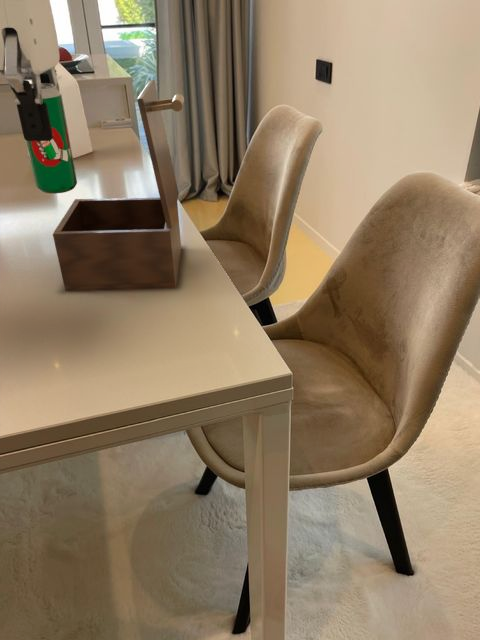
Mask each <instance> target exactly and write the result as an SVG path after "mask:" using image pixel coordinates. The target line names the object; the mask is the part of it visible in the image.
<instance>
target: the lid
mask: <svg viewBox="0 0 480 640" xmlns="http://www.w3.org/2000/svg"><path fill="white" fill-rule="evenodd" d="M136 100H137V105H138V110H139V113H140V118H141V121H142V122H141V123H142V127H143V130H144V135H145V139H146V143H147V149H148V152H149V156H150V160H151V165H152V169H153V173H154V177H155V178H154V179H155V181H156V186H157V190H158V195H159V198H160V200H161V204H162V208H163V212H164V217H165V221H166V225H167V229H168V228H172V226H173V221H174V216H175V211H176V206H177V204H178V201H179V195H180V194H179V193H180V192H179V188H178V184H177V179H176V174H175V169H174V165H173V161H172V157H171V151H170V147H169V141H168V137H167V133H166V127H165V123H164V122H165V121H164V118H163V114H162V111H168V110H173V111H174V112H176V113H177V112H180V111H181V110H182V109H183V106H184V102H185V97H184V95H183V94H182V93H181V94H180V93H177V94H174V96H173V97H170V98H165V99H159V94H158V90H157V85H156V80H155V79H150V80H149V81H148V83H146V85H145V87H144V88H143V90H142V91H141V93H140V94H139V96H138V97H137V98H136Z"/></svg>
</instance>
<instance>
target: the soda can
mask: <svg viewBox="0 0 480 640" xmlns="http://www.w3.org/2000/svg"><path fill="white" fill-rule="evenodd" d="M31 86H32V88H33V84H31ZM56 88H57V86H56V85H54V84H49V83H41V90H42V99H43V103H47V108H48V113H49V119H50V124H51V129H52V134H53V139H52V140H50V141H26V140H25V145H26V148H27V153H28V157H29V162H30V166H31V172H32V177H33V179H34V180H33V181H34V185H35V188H36V189H38V190H39V191H40V192H41V193H44V194H53V195H54V194H56V195H57V194H63V193H67V192H70V191H72V190H74V189H75V188H76V186H77V185H78V178H77V173H76V168H75V161H74V158H73V156H72V150H71V145H70V139H69V134H68V128H67V123H66V117H65V112H64V106H63V101H62V95H61V94H60V93H59V91H58V90H57V89H56Z"/></svg>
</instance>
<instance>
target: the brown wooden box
mask: <svg viewBox="0 0 480 640" xmlns="http://www.w3.org/2000/svg"><path fill="white" fill-rule="evenodd" d="M178 205H179V203H177V206H176V211H175V216H174V221H173V226H172V228H168V229H167V225H166V221H165V217H164V212H163V208H162V204H161V200H160V197H128V198H127V197H119V198H117V197H116V198H113V197H112V198H75V199H74V200H73V202H72V203H71V204H70V206H69V208H68V210H67V211H66V212H65V214H64V215H63V217H62V219H61V220H60V222H59V224H58V225H57V226H56V228H55V230H54V231H53V233H52V238H53V242H54V246H55V250H56V255H57V260H58V264H59V269H60V273H61V277H62V283H63V287H64V291H65V292H83V291H86V292H87V291H118V290H120V291H123V290H153V289H154V290H155V289H176V288H177V281H178V275H179V267H180V261H181V253H182V241H181V239H182V238H181V229H180V219H179V206H178Z"/></svg>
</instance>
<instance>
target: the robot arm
mask: <svg viewBox="0 0 480 640" xmlns="http://www.w3.org/2000/svg"><path fill="white" fill-rule="evenodd" d="M60 56H61V55H60V48H59V41H58V35H57V30H56V25H55V19H54V14H53V10H52V5H51V1H50V0H0V76H4V77H5V80H6V81H7V83H8V84H9V85H10V90H12V93H13V100H14V103H15V105H16V108H17V113H18V117H19V122H20V126H21V130H22V135H23V139H24V140H25V142H26V141H50V140H52V139H53V134H52V129H51V124H50V119H49V113H48V108H47V103H43V99H42V90H41V83H49V84H54V85H56V86H57V88H56V89H57V90H58V91H60V90H59V84H58V80H57V77H56V75H57V74H56V70H55V66H56V65H57V64H58V63H60V60H61V59H60ZM23 69H24V70H28V72H27V71H26V72H25V71H24V72H22V70H23ZM28 80H31V81H32V84H33V88H32V86H31V84H30V83H29V81H28Z"/></svg>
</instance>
